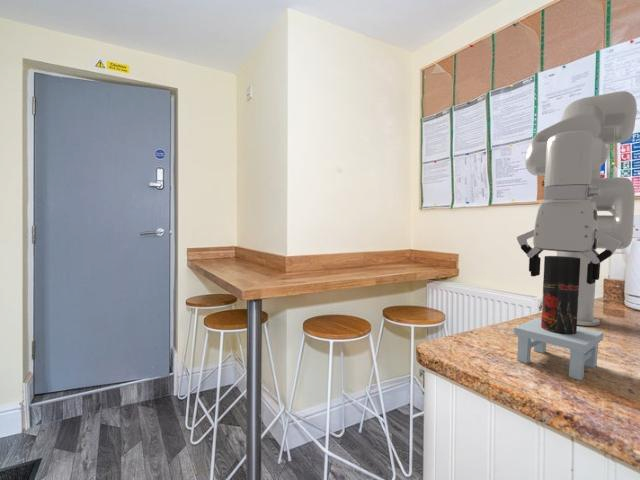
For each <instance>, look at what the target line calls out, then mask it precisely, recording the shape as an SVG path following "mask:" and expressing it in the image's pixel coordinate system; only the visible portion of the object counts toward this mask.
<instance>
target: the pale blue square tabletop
mask: <svg viewBox="0 0 640 480" xmlns="http://www.w3.org/2000/svg"><path fill="white" fill-rule="evenodd" d="M541 320H542V318H538V317H535V318H533V319H531V320H529V321H527V322H524V323H522V324H519V325H517V326H515V327H514V328H513V329H514V330H513V333H514V334H513V335H514V336H518V337H517V339H518V340H517V352H516V353H517V356H516V357H517V358H516V360H517V361H518V362H520V363H523V364H528V363H530V362H531V353H532V352H531V350H532V348H533V351H534V352H537V353H540V354H545V353H546V352H547V344H548V345H553V346H557V347H559V348H560V347H561V348H564V349H568V350H569V351H570V352H569V368H568V378H571V379H575V380H578V381H582V380H583V379H584V378H585V377H584V375H585V374H584V373H585V366H586V367H589V368H593V369H595V368H596V367H597V366H598V365H597V364H598V350H599V349H598V348H599V343H600V342H602V341H603V340H604V331H599V330H595V329H589V328H585V327H581V326H577V332H576V334H559V333H554V332H550V331H547V330H544V329H542V328H541Z"/></svg>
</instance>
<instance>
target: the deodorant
mask: <svg viewBox="0 0 640 480" xmlns="http://www.w3.org/2000/svg"><path fill="white" fill-rule="evenodd" d="M579 277H580V258H576V257H564V256H557V255H546V256H544V263H543V279H542V280H543V281H542V282H543V283H542V284H543V285H542V299H541V300H542V303H541V307H542V308H541V319H542V320H541V328H542V329H544V330H547V331H550V332H554V333H559V334H576V332H577V327H578V325H577V314H578V295H579Z"/></svg>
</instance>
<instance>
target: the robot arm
mask: <svg viewBox="0 0 640 480" xmlns="http://www.w3.org/2000/svg"><path fill="white" fill-rule="evenodd" d="M637 109H638V105H637V100H636V98H635V96H634V95H633V94H632V93H631V92H629V91H626V90H625V91H624V90H622V91H620V90H619V91H615V92H610V93H604V94H599V95H594V96H593V95H592V96H588V97H583V98H579V99H577V100H574V101H572V102H571V103H570V104H568V105H567V107H565V109H564V111H563V113H562V117H561V119H560V121H558V122H556V123H554V124H552V125H550V126H549V127H546V128H544V129H542V130H540V131H539V132H537V133H536V134H535V135H534V136H533V137H532V139H531V141H530V143H529V145H528V148H527V151H526V155H525V167H526V170H527V171H528V172H529V174H530V175H533V176H539V177H540V176H544V188H543V189H544V191H543V202H540V203H539V206H538V209H537V213H536V217H535V222H534V223H535V224H534V228H533V230H530V231H528V232H525V233H523V234H520V235H518V236H516V240H517V243H518V244H519V246H520V249H521V250H522V251H523V252H524V253H525V254H526V256H527V257H528V258H529V259H528V271H529V272H530V277H533V278H534V277H537V276H540V274H541V262H542V261H541V257H540V256H539V255H541V253H542V252H543V251H553V252H556V256H564V257H576V258H580V277H579V295H578V314H577V326H584V327H585V326H587V327H588V326H589V327H593V326H594V327H596V326H599V325H601V320H600V319H599V318H598V317H596V316H594V312H595V311H594V310H595V309H594V308H595V296H596V282H597V281H599V279H600V273H601V263H603V261H605V260H607V259H608V258H610V257H612V256H613V255H614V253H615V252H616V251H617V250H622V249H626V248H628V247H630V246H631V244H632V241H633V234H634V222H635V221H634V219H635V217H634V215H635V201H636V200H635V199H636V196H635V186H634V183H633V181H632V180H631V179H629V178H626V177H622V176H621V177H620V176H619V177H616V176H615V177H601V173H602V172H601V171H602V166H603V165H604V164H605V163H606V161H607V159H608V146H607V145H612V144H613V145H614V144H621V143H624V142H627V141H628V140H629V139H630V138H631V137H632V136H633V133H634V131H635V126H636V118H637V113H638V111H637ZM598 212H609V213H610V214H612V215H607V214H606V215H605V214H604V215H603V214H602V215H600V214H599V215H598ZM531 238H533V239H532V244H533V247H531V246H530V245H529V244H528V241H527V240H529V239H531ZM597 249H604V251H602V252H600V253H599V252H598V251H597ZM596 280H597V281H596Z"/></svg>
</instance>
